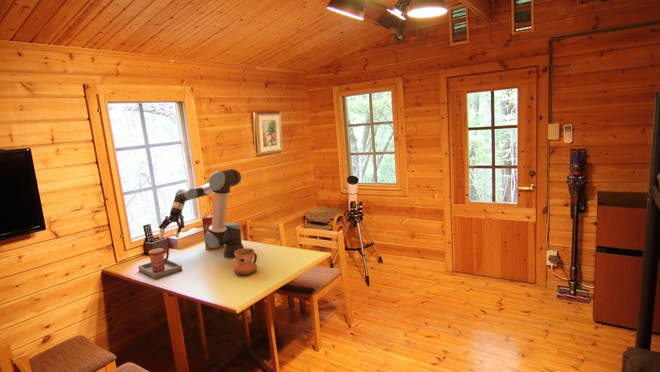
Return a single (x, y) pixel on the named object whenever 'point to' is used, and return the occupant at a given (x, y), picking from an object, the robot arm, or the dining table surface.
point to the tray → (169, 269)
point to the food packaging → (206, 224)
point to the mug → (158, 259)
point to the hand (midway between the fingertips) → (168, 237)
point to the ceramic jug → (245, 261)
